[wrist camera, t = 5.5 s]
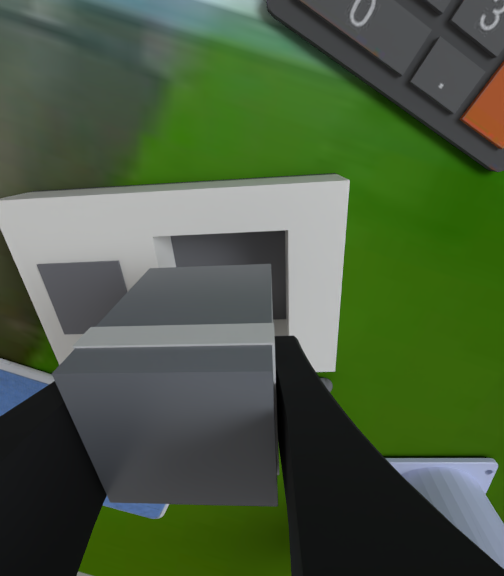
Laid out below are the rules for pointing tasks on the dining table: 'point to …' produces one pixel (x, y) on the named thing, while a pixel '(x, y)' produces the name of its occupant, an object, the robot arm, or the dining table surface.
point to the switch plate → (183, 248)
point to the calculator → (419, 60)
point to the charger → (181, 389)
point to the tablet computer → (27, 381)
